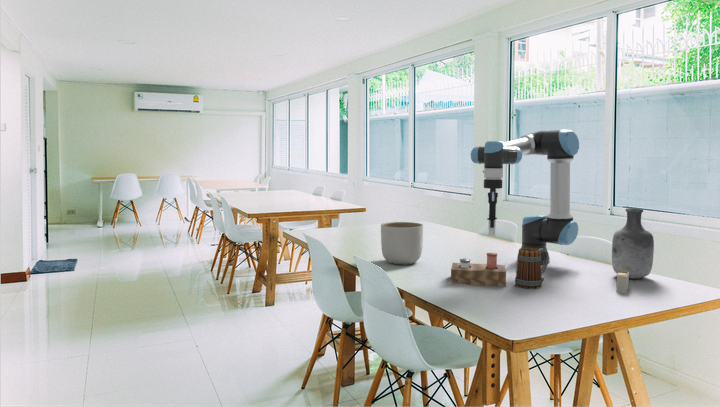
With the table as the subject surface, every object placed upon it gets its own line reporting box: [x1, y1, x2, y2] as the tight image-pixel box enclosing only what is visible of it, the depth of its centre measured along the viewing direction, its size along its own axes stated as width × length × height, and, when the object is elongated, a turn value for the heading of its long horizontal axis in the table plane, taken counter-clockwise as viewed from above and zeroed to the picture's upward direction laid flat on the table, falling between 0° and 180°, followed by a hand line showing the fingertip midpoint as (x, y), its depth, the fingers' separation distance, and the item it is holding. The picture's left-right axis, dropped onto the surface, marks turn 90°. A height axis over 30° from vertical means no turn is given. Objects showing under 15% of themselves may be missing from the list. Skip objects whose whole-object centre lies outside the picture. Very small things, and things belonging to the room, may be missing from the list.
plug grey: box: [459, 258, 471, 268], centre depth 224 cm, size 4×4×9 cm
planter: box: [380, 221, 424, 265], centre depth 261 cm, size 21×21×19 cm
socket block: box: [450, 262, 507, 287], centre depth 223 cm, size 22×14×6 cm, turn 77°
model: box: [616, 269, 630, 294], centre depth 209 cm, size 3×11×8 cm, turn 148°
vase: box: [611, 207, 655, 280], centre depth 228 cm, size 16×16×30 cm
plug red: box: [486, 252, 498, 269], centre depth 221 cm, size 4×4×9 cm
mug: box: [514, 247, 550, 290], centre depth 216 cm, size 16×11×15 cm
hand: (491, 235), depth 220 cm, fingers closed
